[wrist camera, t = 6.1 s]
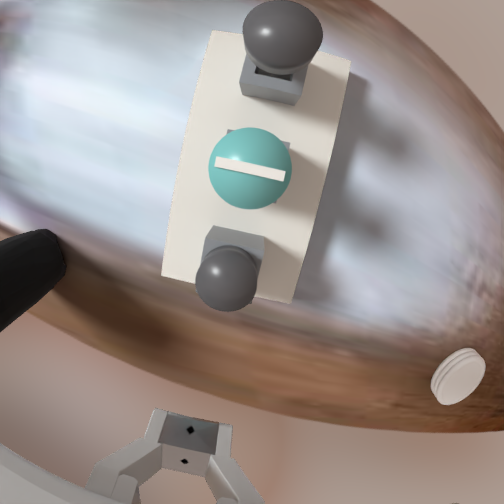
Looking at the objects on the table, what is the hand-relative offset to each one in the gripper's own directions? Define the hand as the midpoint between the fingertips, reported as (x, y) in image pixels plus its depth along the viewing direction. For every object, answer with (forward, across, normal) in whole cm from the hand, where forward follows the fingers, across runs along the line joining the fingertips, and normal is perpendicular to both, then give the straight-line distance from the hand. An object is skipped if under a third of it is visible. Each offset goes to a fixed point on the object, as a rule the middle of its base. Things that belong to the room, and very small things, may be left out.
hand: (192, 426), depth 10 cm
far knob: (+20, 0, 0) cm, 20 cm away
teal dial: (+16, 0, -9) cm, 19 cm away
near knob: (+16, 0, -18) cm, 24 cm away
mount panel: (+24, 0, -9) cm, 26 cm away
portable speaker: (+25, +25, +7) cm, 36 cm away
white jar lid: (+25, -39, +13) cm, 48 cm away
